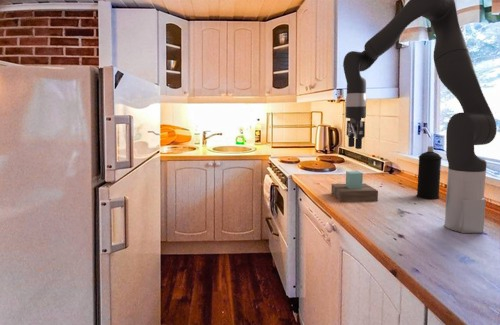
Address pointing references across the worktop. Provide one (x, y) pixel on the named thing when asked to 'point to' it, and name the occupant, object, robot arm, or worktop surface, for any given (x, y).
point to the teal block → (354, 179)
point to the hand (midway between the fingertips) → (354, 147)
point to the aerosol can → (429, 175)
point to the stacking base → (354, 193)
